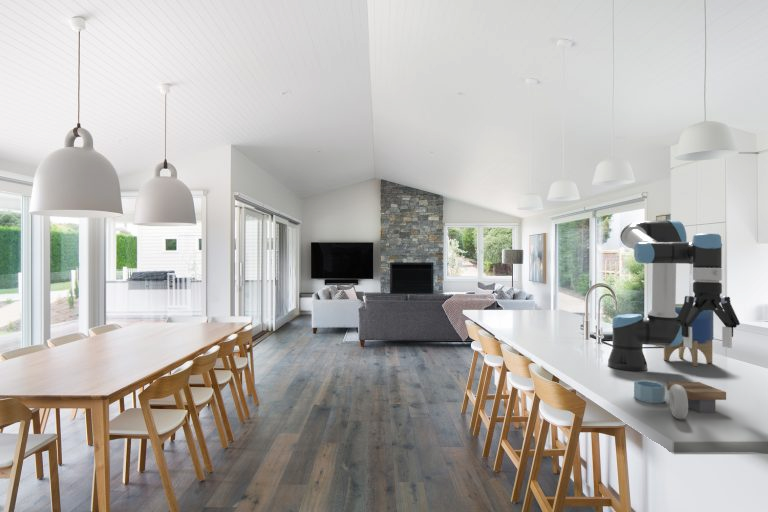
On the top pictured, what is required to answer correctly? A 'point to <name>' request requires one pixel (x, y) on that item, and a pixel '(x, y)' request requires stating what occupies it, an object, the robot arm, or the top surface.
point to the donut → (678, 401)
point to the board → (700, 391)
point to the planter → (696, 337)
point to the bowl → (649, 391)
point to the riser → (702, 405)
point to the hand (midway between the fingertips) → (707, 347)
